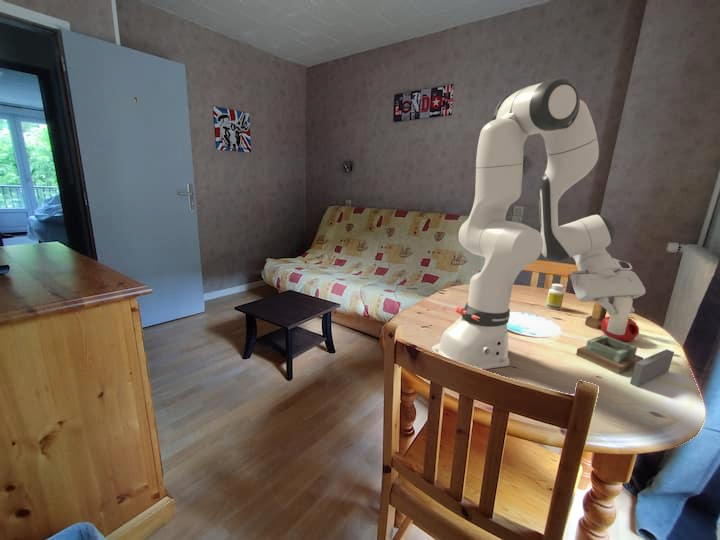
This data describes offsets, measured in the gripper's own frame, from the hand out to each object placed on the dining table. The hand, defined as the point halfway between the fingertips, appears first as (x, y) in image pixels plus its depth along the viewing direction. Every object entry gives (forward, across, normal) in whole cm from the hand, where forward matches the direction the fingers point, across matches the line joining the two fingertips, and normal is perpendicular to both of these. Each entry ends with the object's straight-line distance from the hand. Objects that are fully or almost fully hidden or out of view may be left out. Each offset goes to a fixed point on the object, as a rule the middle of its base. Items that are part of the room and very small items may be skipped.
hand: (622, 313), depth 88 cm
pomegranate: (+2, +16, +19) cm, 25 cm away
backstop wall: (+17, +2, +4) cm, 17 cm away
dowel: (+4, 0, +5) cm, 6 cm away
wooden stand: (-4, +17, +25) cm, 31 cm away
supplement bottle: (-17, +15, +38) cm, 44 cm away
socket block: (+10, 0, +11) cm, 15 cm away
